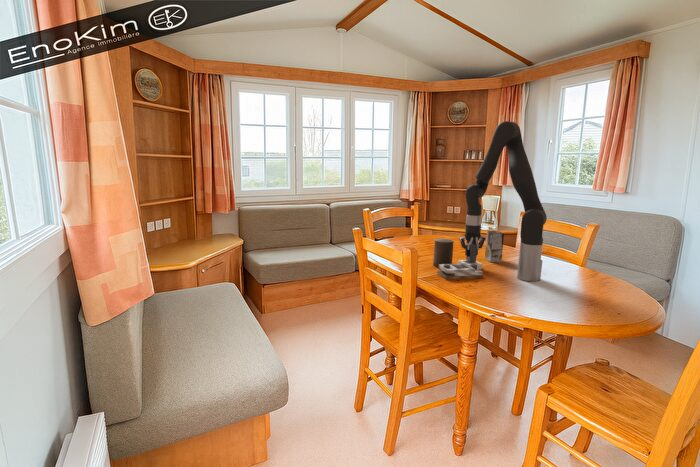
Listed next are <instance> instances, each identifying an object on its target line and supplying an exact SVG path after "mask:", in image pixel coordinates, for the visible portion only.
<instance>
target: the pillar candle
mask: <svg viewBox="0 0 700 467" xmlns="http://www.w3.org/2000/svg"><path fill="white" fill-rule="evenodd" d="M454 243H455V242H454V240H453V239H451V238H450V239H449V238H435V239H434V246H433V247H434V248H433V260H432V261H433V262H432V264H433V266H434V267H436V268H439V267H438V266H439V264H453V254H454Z"/></svg>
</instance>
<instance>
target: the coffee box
mask: <svg viewBox="0 0 700 467" xmlns="http://www.w3.org/2000/svg"><path fill="white" fill-rule="evenodd" d="M485 238H486V239H485V241H486V242H485V256H484V258H485V260H487V261H488V262H489V263H502V259H503V249H504V241H505V240H504V238H505V233H504V232H502V231H499V230H487V231H486V237H485Z"/></svg>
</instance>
